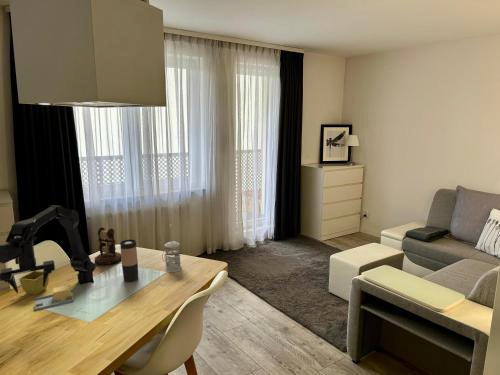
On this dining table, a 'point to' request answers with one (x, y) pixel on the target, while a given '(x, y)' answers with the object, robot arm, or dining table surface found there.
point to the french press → (176, 259)
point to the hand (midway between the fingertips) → (30, 289)
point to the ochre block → (61, 292)
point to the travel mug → (129, 260)
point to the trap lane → (50, 301)
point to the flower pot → (33, 282)
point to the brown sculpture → (107, 247)
